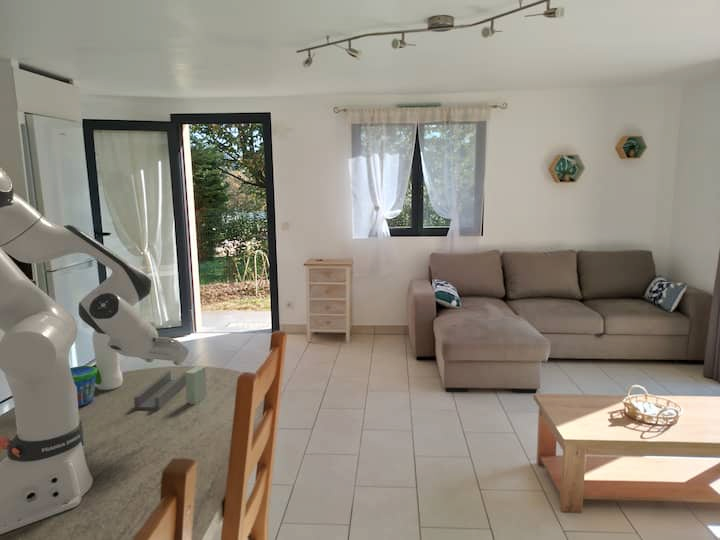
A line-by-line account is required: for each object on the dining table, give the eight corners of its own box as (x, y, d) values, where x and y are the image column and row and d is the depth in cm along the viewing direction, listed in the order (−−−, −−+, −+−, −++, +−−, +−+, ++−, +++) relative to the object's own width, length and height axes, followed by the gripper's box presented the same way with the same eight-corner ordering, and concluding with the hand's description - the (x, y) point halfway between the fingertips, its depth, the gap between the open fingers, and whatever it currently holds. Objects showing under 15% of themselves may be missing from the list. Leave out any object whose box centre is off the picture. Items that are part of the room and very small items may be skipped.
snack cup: (90, 390, 157) (88, 361, 156) (113, 396, 153) (111, 365, 151) (43, 409, 143) (40, 377, 141) (67, 415, 139) (64, 382, 137)
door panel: (195, 404, 147) (193, 373, 146) (186, 403, 148) (185, 372, 146) (206, 397, 153) (205, 367, 151) (198, 395, 154) (197, 366, 152)
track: (159, 409, 143) (158, 397, 143) (135, 409, 143) (134, 397, 143) (188, 382, 165) (188, 371, 164) (167, 381, 165) (167, 371, 165)
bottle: (98, 383, 164) (92, 297, 159) (124, 380, 166) (119, 296, 162) (93, 392, 156) (86, 302, 152) (120, 389, 158) (114, 300, 154)
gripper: (178, 329, 125) (201, 354, 136) (112, 324, 130) (140, 348, 141) (168, 351, 121) (192, 375, 132) (101, 345, 127) (130, 368, 137)
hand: (165, 361), depth 137 cm, fingers open, 8 cm apart
